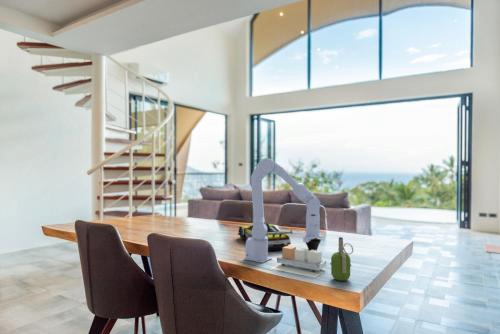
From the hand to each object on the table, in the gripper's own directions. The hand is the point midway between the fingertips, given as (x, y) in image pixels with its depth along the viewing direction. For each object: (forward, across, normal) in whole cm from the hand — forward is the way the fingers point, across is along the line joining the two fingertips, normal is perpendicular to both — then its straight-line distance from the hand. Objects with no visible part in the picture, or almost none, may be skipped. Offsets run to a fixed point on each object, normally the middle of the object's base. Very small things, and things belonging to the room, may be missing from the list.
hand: (312, 256), depth 138 cm
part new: (0, -11, +5) cm, 12 cm away
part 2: (0, -11, -6) cm, 13 cm away
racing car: (+3, +17, +36) cm, 40 cm away
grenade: (+2, -16, -18) cm, 24 cm away
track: (+2, -11, 0) cm, 11 cm away
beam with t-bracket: (+2, -8, 0) cm, 8 cm away
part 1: (0, -11, 0) cm, 11 cm away
